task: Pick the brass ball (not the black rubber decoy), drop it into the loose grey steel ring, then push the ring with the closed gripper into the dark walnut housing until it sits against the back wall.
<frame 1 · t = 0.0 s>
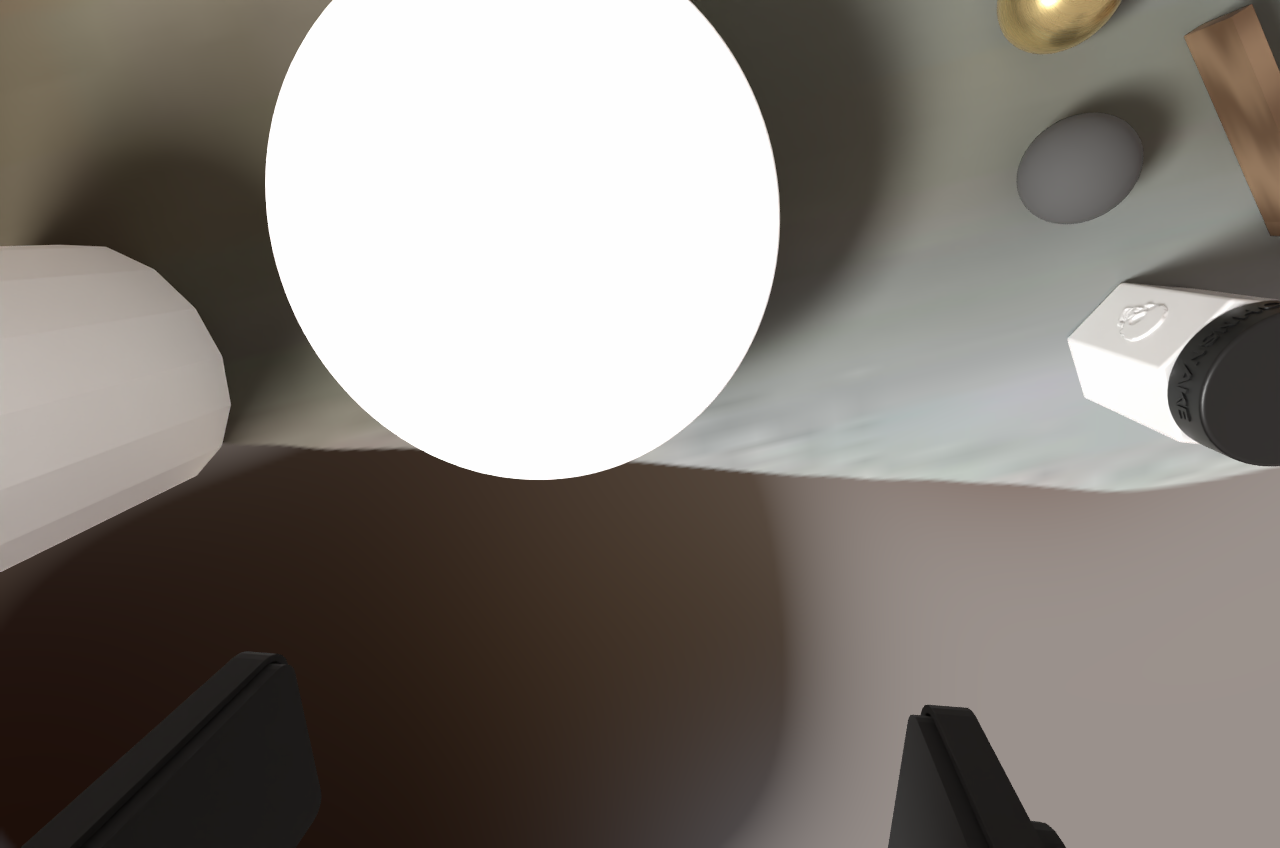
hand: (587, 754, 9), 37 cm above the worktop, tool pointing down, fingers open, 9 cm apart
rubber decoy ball: (1077, 170, 36), point 3 cm above the worktop
container: (115, 372, 51), on the worktop
plate stack: (563, 234, 44), on the worktop
jar: (1134, 344, 41), on the worktop
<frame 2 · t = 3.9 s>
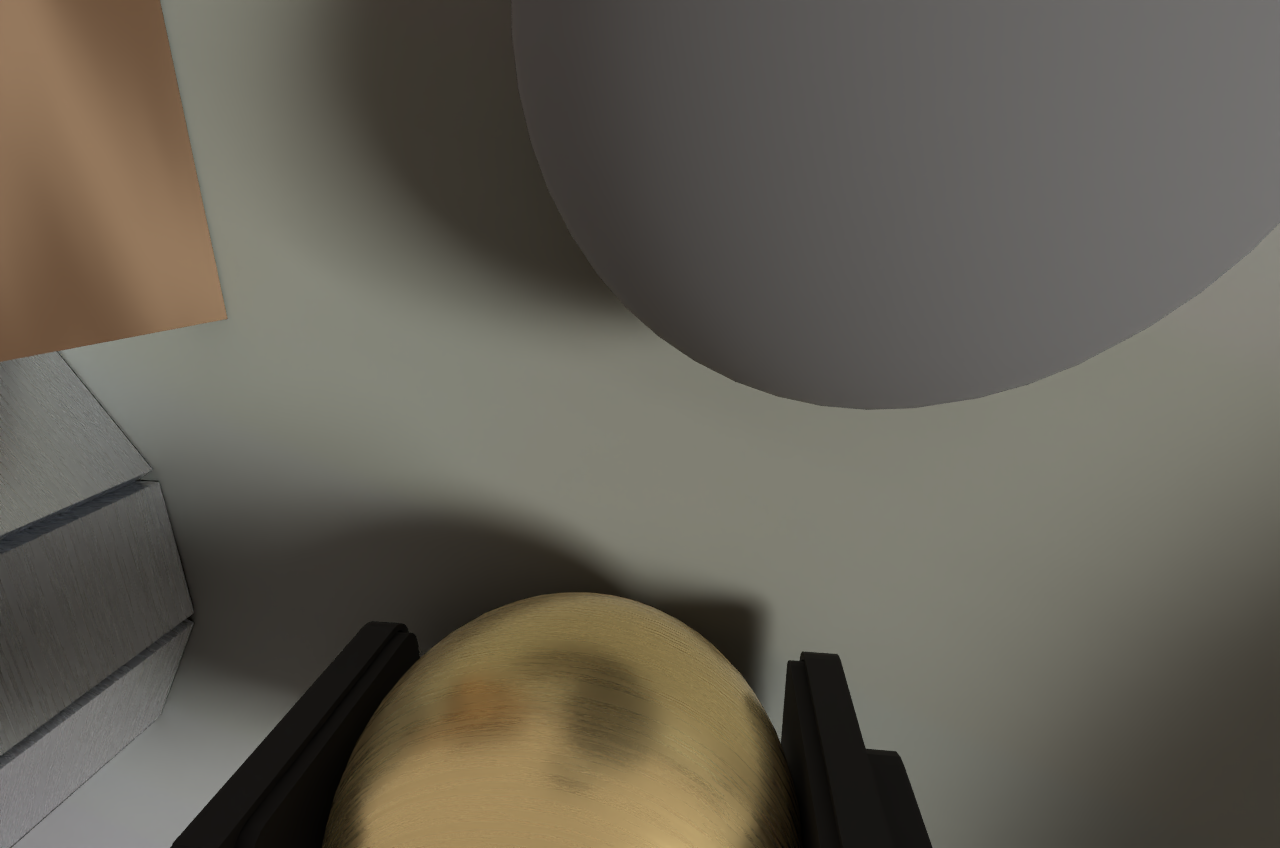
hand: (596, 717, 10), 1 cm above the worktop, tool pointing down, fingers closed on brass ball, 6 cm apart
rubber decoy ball: (881, 46, 5), point 3 cm above the worktop
brass ball: (571, 825, 8), point 3 cm above the worktop, touching gripper
when the fingers open (4 cm above the worktop, at t = 9.2 s): brass ball drops 3 cm, point 3 cm above the worktop.
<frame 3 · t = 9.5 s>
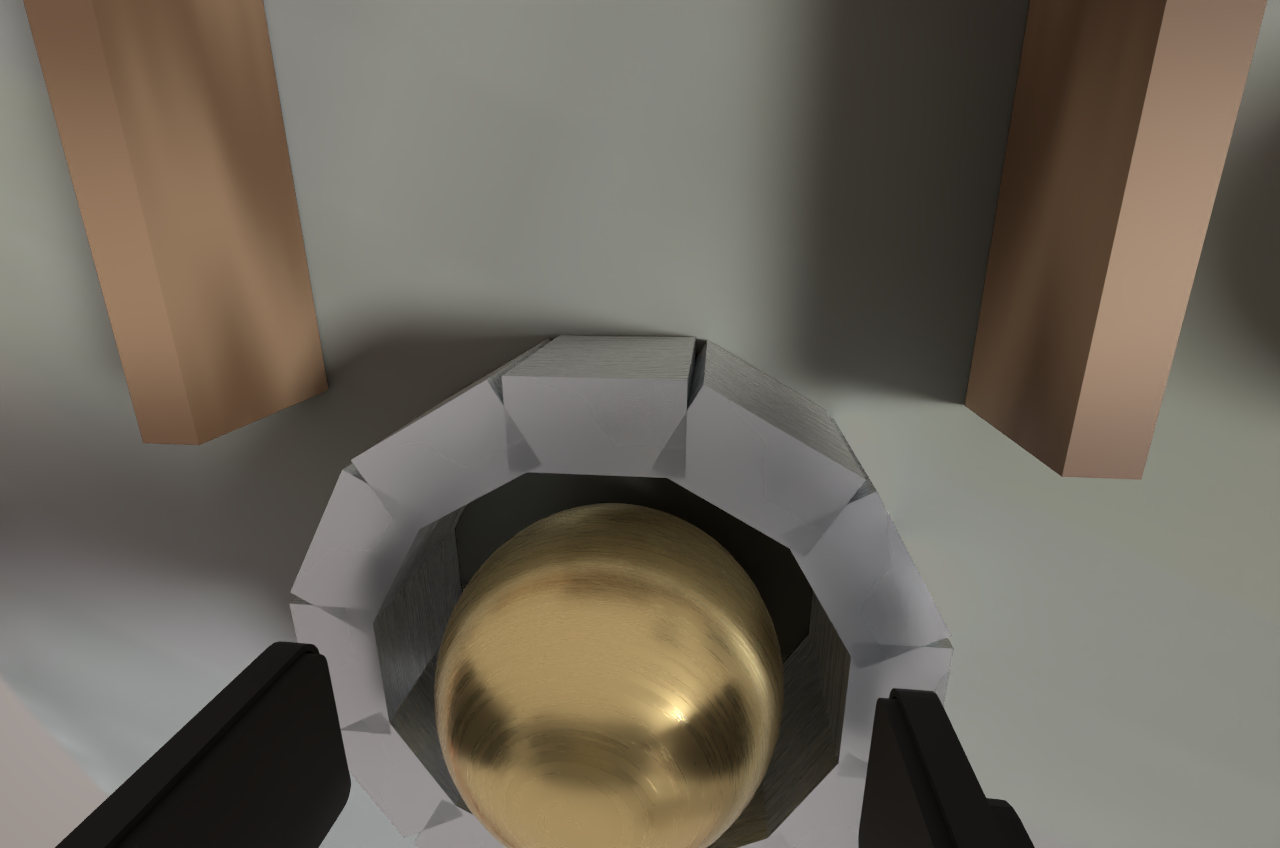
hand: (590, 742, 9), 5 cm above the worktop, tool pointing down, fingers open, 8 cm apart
walnut housing: (622, 12, 10), on the worktop
steel race: (630, 580, 14), on the worktop
brass ball: (611, 672, 11), point 3 cm above the worktop
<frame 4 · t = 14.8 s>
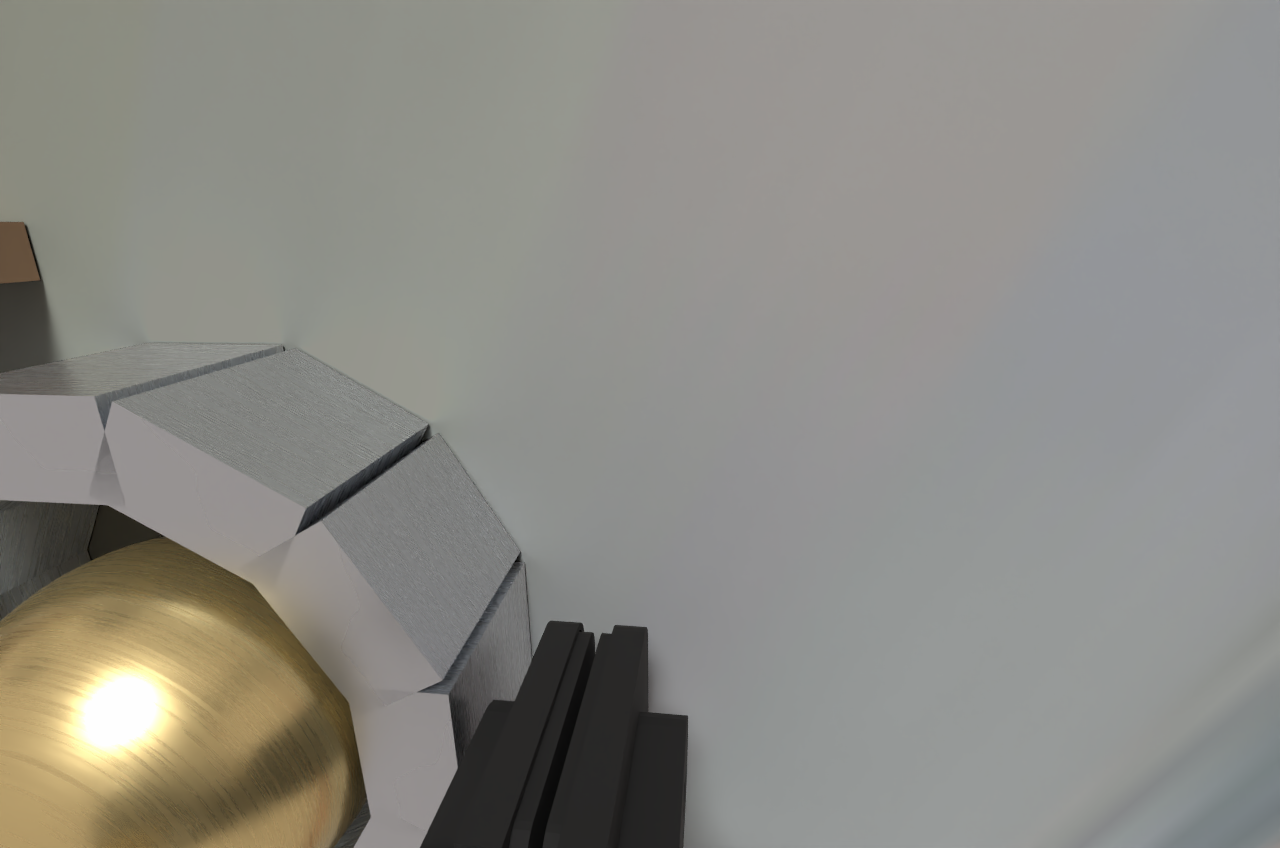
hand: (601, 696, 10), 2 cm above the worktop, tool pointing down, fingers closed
steel race: (272, 605, 13), on the worktop, touching gripper
brass ball: (196, 720, 10), point 3 cm above the worktop
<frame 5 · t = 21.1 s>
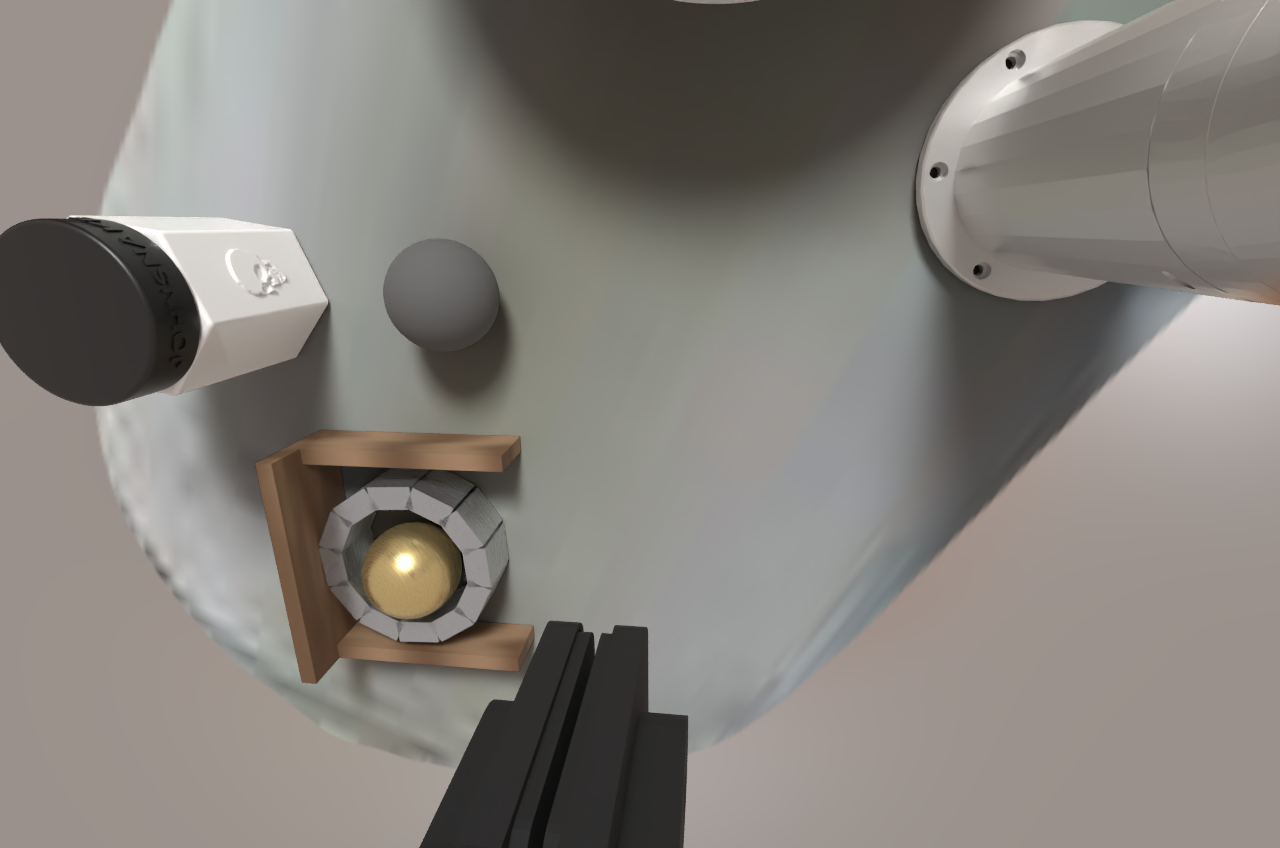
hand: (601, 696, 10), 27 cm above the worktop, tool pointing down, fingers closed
walnut housing: (430, 537, 42), on the worktop
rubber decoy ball: (442, 296, 33), point 3 cm above the worktop
steel race: (428, 540, 42), on the worktop
brass ball: (412, 569, 39), point 3 cm above the worktop, tilted 151°
jar: (263, 289, 38), on the worktop
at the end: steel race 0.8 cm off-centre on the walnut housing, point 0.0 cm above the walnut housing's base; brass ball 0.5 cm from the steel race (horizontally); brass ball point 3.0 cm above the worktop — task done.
